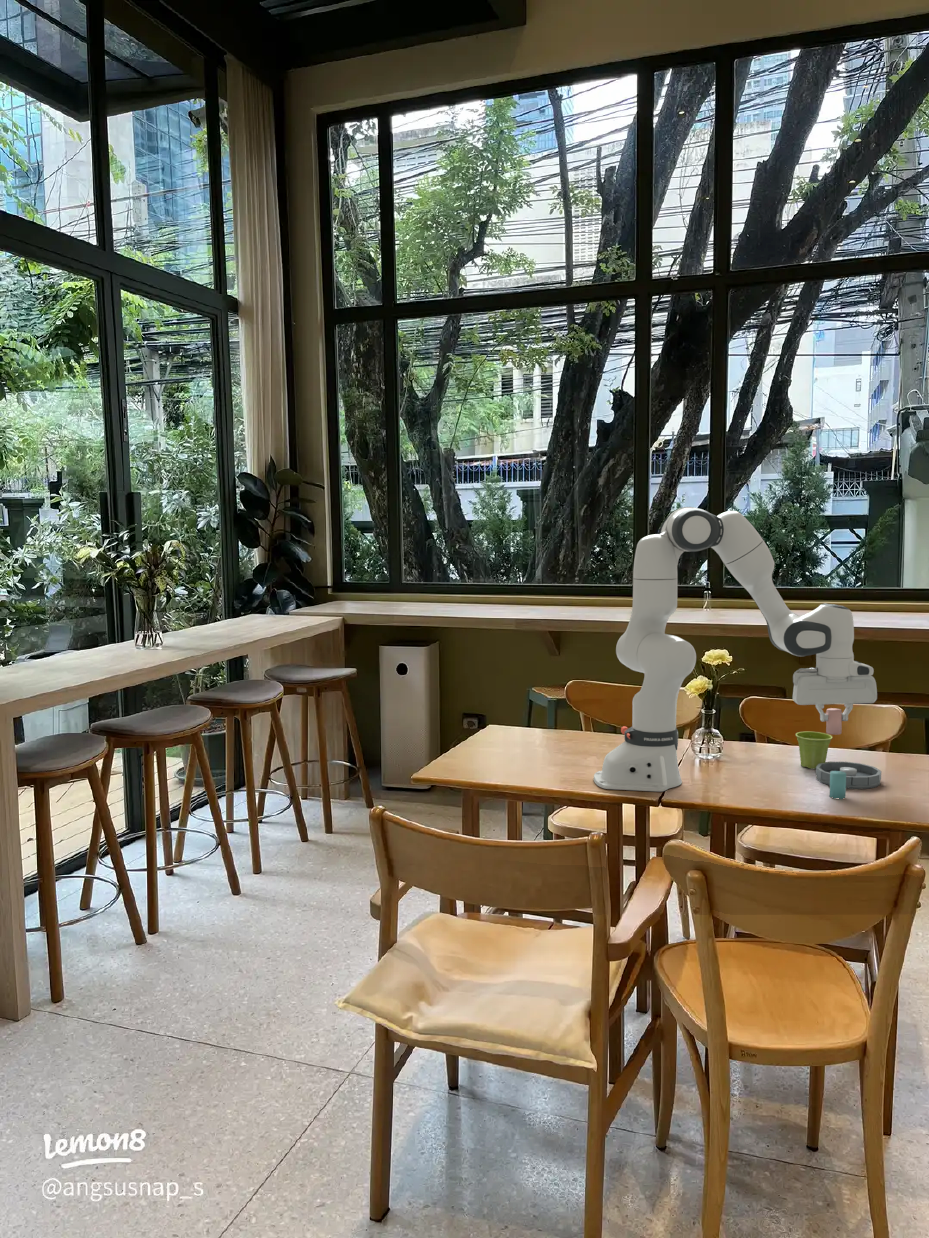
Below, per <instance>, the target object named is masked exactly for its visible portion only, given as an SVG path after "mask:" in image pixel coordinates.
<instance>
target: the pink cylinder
mask: <svg viewBox="0 0 929 1238" xmlns="http://www.w3.org/2000/svg"><path fill="white" fill-rule="evenodd" d="M825 713H826V714H827V715H828V721H825V722H826V725H825V726H826V728H825V734H829V735H834V736H835V735H841V734H842V730H843V729H842V723H843V721H842V713H843V711H842V709H841V708H835V707H833V708H832V707H830V708H827V709H826V711H825Z"/></svg>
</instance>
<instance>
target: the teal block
mask: <svg viewBox="0 0 929 1238" xmlns="http://www.w3.org/2000/svg"><path fill="white" fill-rule="evenodd" d="M846 791H847V788H846V773H845V772H842V771H831V772H830V785H829V798H831V797H833V798H832V799H834V798H839V799H838V800H844V799H843V798H845V799H846V796H847V795H846Z"/></svg>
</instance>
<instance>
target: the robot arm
mask: <svg viewBox="0 0 929 1238" xmlns="http://www.w3.org/2000/svg"><path fill="white" fill-rule="evenodd" d="M663 520H664V521H663V522H662V524H661V526H660V528H659V530H658V531H657V533H655V534H649V535H646V536H644V537H642V538H640V540H639V541H638V542H637V544H636V549H635V553H634V561H633V571H632V572H633V573H632V574H633V575H632V585H633V586H632V606H631V607H632V609H631V615H630V618H629V622H628V624H627V627H626V630H625V632H624V633H623V634H622V635H621V636H620V637H619V639H618V640H617V643H616V647H615V654H616V657H617V659H618V660H619V662H620V663H621V664H622V665H624V666H625V667H626V668H629V669H630V670H631V671H634V672H639V673H643V674H644V678H643V682H642V684H641V688H640V690H639V691H638V692H637V693H636V694H634V696H633V697H632V723H631V724H632V726H631V727H627V726H625V725H624V726H622V727H620V732H621V734H622V735H623V736H624V737H623V738H624V741H623V742H622V743H620V744H619V745H617V746H616V747H615V748H614V749H612V750H611V751H610V752H607V754H606V755H605V757H604V759H603V761H602V767H601V768H602V769H601V770H598V771H596V772H595V773H594V774H593V782H594V783H595V784H596V786H598V787H600V788H602V789H604V790H606V789H607V790H621V791H622V790H624V791H625V790H626V791H640V792H642V791H643V792H665V791H667V790H668V789H671V788H676V787H679V786H680V785H681V784H682V782H683V781H682V777H681V773H680V769H679V764H678V763H679V762H678V755H677V753H678V747H679V731H678V729H677V705H678V697H679V693H680V690H681V687H682V684H683V682H684V680H685V679H686V678H687V677H688V676H689V675H690V674H691V673H692V672H693V670H694V668H695V666H696V663H697V653H696V650H695V648H694V645H692V644H691V643H690V642H689V641H687V640H685V639H683V638H681V637H679V636H677V635H673V634H667V633H665V632H666V626H667V624H668V620H669V619H670V617H671V616H672V615H673V614H674V613H676V611H677V609H678V565H679V559H680V557H681V556H682V554H683V553H684V552H700V551H704V550H707V549H709V548H711V549H712V550H714V552H716V554H717V555H718V556H719V558H720V559H721V561H722V563H723V564H724V566H725V567H726V568H727V570H728V571H729V573H730V574H731V575H732V576H733V577H734V579H735V580H736V581H737V582H738V583H739V584H740V585H741V586H742V587H743V588H744V590H746V591H747V592H748V593H749V595H750V596H751V598H752V600H753V601H754V603H755V605H756V606H757V608H758V609H759V611H760V613H761V615H762V616H763V617H764V619H765V622H766V626H767V633H768V637H769V640H770V642H771V644H772V645H773V646H774V648H775V647H776V648H777V649H778V650H779V651H783V652H786V653H789V654H791V655H793V656H796V657H806V656H812V655H815V659H816V660H815V662H816V664H815V667H809V668H808V667H807V668H804V667H803V668H802V667H801V668H798V669H797V670H796V671H794V673H793V675H792V683H793V689H792V701H793V702H794V703H795V704H797V705H799V706H807V705H808V706H809V705H811V706H812V705H815V708H816V710H817V712H818V713H819V720H820V722H824V723H825V722H826V721H828V715H827V714H826V712H824V710H823V709H824V708H825V705H844V707H845V709H844V710H843V711H842V722H848V721H849V714H850V713H851V711H852V710H853V708H854V704H856V705H857V704H858V705H859V704H874V703H875V702H876V701H877V700H878V689H877V687H878V686H877V682H876V681H877V680H876V679H875V677H874V676H873V675H874V672H875V671H874V670H875V669H874V668H873V666H870V665H869V664H865V663H862V662H860V661H857V660H854V659H855V655H854V654H855V653H854V652H853V644H854V641H855V624H854V615H853V612H852V610H850V608H848V607H846V606H844V605H839V604H835V603H834V604H833V603H820V604H819V605H818V607H816V608H814V609H813V610H811V611H810V612H807V613H806V614H803V615H798V614H797V613H795V612H793V611H792V610H790V608H789V607H788V606H787V605H786V603H785V601H784V599H783V597H782V596H781V595H780V592H779V591H778V590H777V588H776V586H775V584H774V581H773V572H774V570H775V569H774V568H775V560H774V558H773V555H772V553H771V550H770V549H769V547H768V545H767V544H766V542H765V540H764V539H763V537H762V536H761V534H759V532H758V531H757V530H756V528H755V527H754V526H753V525H752V523H751V522H750V521H749V520H748V519H747V518H746V517H745V516H744V515H743V514H742V513H740V512H739V511H735V510H728V511H725V512H722V513H719V514H718V515H715V514H713V513H710V512H709V511H707V510H706V509H705V510H704V509H702V508H698V507H694V506H684V507H680V508H676V509H675V510H672V511H671V512H669V514H668V515H667V516H666V517H665V519H663Z"/></svg>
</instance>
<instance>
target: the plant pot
mask: <svg viewBox="0 0 929 1238" xmlns="http://www.w3.org/2000/svg"><path fill="white" fill-rule="evenodd" d="M795 737H796V739H797V742H798V748H799V750H798V751H799V759H800V766H802V767H803V768H805V767H806V768H808V769H813V770H816V766H817V765H818V764H820V763H825V762H827V758H828V756H827V755H828V752H829V751H828V750H829V745H830V744H831V740H832V739H833V735H832V734H828V733H826V732H820V731H799V732H796V733H795Z"/></svg>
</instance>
